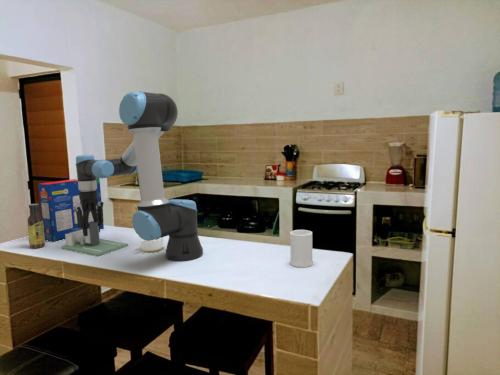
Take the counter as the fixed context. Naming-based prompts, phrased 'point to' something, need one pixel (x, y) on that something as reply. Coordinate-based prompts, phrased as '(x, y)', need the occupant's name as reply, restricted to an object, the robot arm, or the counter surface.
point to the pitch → (96, 250)
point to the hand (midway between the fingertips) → (92, 241)
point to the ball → (79, 237)
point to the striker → (92, 234)
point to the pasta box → (61, 208)
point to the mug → (301, 248)
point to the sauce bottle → (35, 227)
